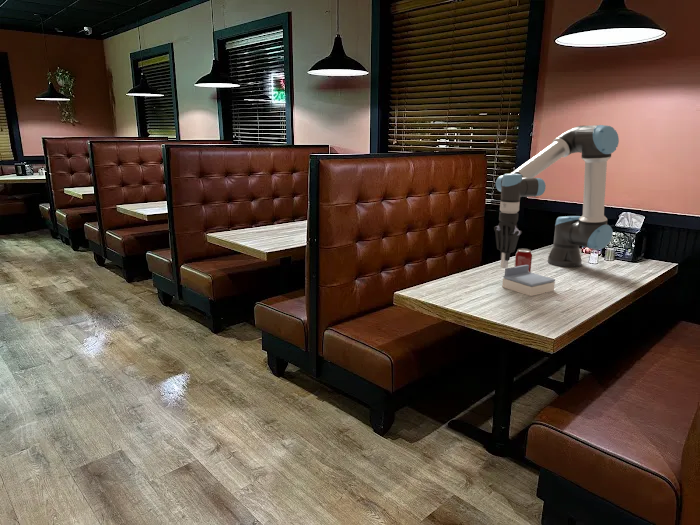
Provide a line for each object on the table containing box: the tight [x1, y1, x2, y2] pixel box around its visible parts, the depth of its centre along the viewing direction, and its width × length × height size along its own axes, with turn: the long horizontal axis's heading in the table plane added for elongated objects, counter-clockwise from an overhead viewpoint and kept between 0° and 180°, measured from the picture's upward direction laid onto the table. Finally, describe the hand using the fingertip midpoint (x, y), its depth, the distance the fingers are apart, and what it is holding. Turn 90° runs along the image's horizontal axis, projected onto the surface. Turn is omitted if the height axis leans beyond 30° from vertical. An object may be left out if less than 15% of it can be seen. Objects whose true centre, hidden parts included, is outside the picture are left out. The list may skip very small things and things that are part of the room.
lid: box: [502, 265, 556, 286], centre depth 200 cm, size 14×14×4 cm
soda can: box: [514, 248, 533, 272], centre depth 216 cm, size 7×7×12 cm
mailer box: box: [502, 277, 556, 297], centre depth 201 cm, size 14×14×4 cm
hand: (504, 267), depth 210 cm, fingers closed
